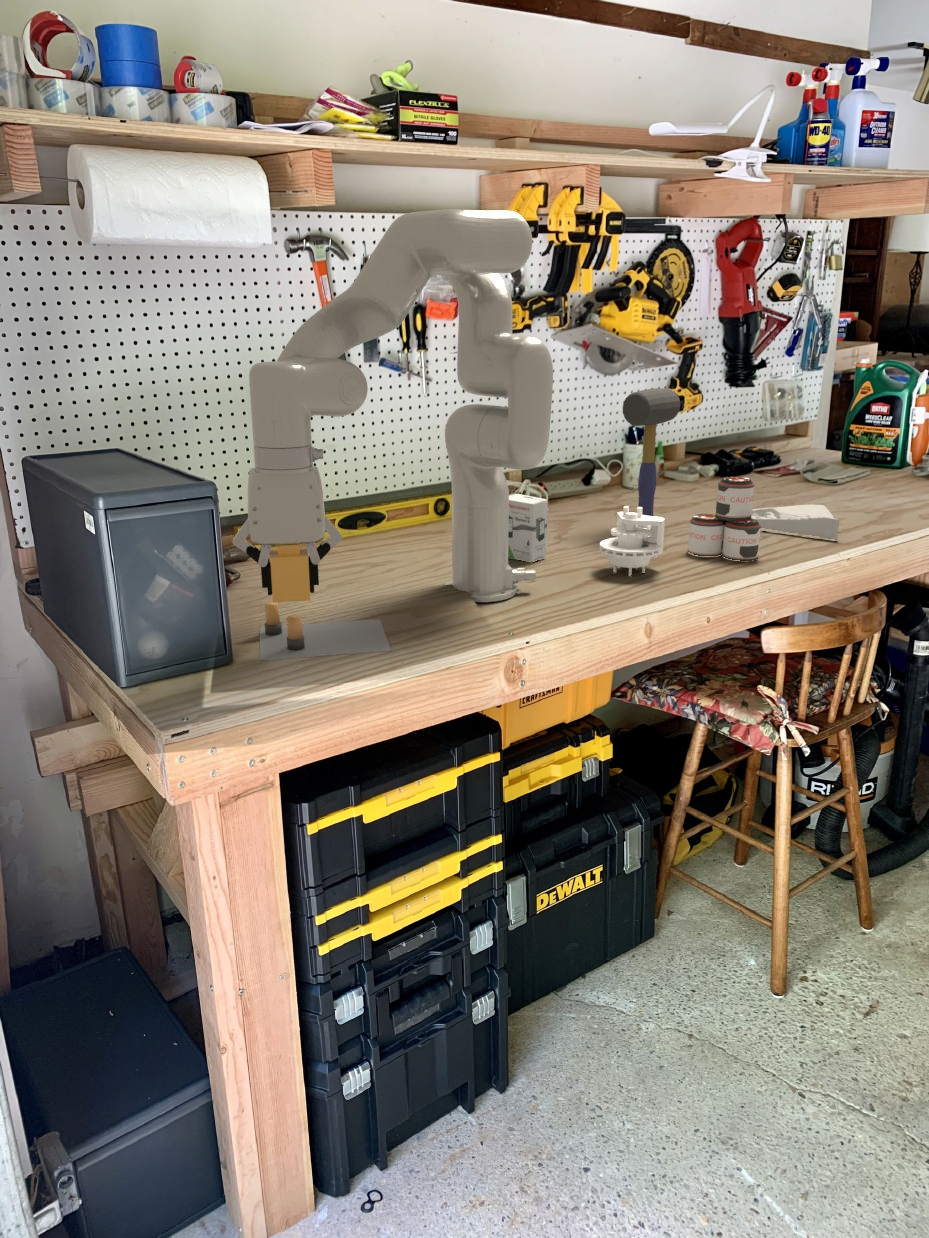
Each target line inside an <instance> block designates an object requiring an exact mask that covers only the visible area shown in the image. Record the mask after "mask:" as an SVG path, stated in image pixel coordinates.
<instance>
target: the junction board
mask: <svg viewBox="0 0 929 1238" xmlns="http://www.w3.org/2000/svg"><path fill="white" fill-rule="evenodd" d="M279 603H280V602H275V603H273V601H267V602H265V603H264V613H265V615H264V616H265V622H264V626H261V627H259V661H274V660H275V661H276V660H287V659H301V658H303V659H304V658H314V657H330V656H340V655H341V656H342V655H354V654H357V655H358V654H366V653H369V654H370V653H380V652H392V651H393V650H392V648H391V646H390V643H389V640H388V637H387V635H386V634H387V633H386V632H385V629H384V627H383V623H382V621H381V619H380V618H379V619H375V618H374V619H362V620H360V619H359V620H347V621H332V622H317V623H303V622H302V620H303V619H302V616H301V615H299V614H291V615H288V616H287V617H286V625H282V622H281V619H280V605H279Z"/></svg>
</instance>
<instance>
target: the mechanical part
mask: <svg viewBox="0 0 929 1238" xmlns="http://www.w3.org/2000/svg"><path fill="white" fill-rule="evenodd" d="M642 509H643V507H638V506H637V507H636V512H632V511H630V506H629V505H625V506H623V509H622V511H619V512H616V527H612V528H611V529H610V534H611V535H612V536H613V537H610V538H606V539H603V540H601V541H600V542H599V552H601V553H602V554H604V555H606V556H608V563H609V564H610V565H612V566H613V568H612V569H613V571H612V573H613V572H616V573H617V567H620V568H628V576H629V575H630V576H631V575H633V573H632V572H633V569H635V568H639V569H640V568H641V574H642V573H645V574H646V567H647V566H649V564H650V562H651V561H650V560H653V559H657V557H658V556H660V555H663V552H664V541H665V523H666V519H665V518H664V517H662V516H656V515H655V516H654V515H653V516H647V515H642ZM629 511H630V512H629ZM631 577H632V576H631Z"/></svg>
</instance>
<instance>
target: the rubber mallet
mask: <svg viewBox="0 0 929 1238" xmlns="http://www.w3.org/2000/svg"><path fill="white" fill-rule="evenodd" d="M680 409H681V400H680V397H679V395H678V393H676V391H674V390H673V389H671V388H666V387H665V388H663V387H661V388H658V387H657V388H646V389H642V390H639V391H634V392H631V393H630V394H628V395H627V397H625V399H624V401H623V403H622V415H623V418H624V419H625V420H626V422H627V423H629V424H630V425H632V426H636V427H641V426H642V427H643V426H644V428H643V442H642V459H641V464H640V466H639V467H640V468H639V474H638V483H637V488H638V506H637V508H638V507H643V509H642V515H647V516H654V508H655V507H654V506H655V505H654V504H655V494H656V488H657V465H656V462H655V459H656V458H655V457H656V455H655V454H656V438H657V431H656V430H657V425H659V424H660V425H661V424H663V423H666V422H669V421H672V420H674V419H675V418H676V417H677V416H678V414H679V412H680Z"/></svg>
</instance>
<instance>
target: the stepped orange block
mask: <svg viewBox="0 0 929 1238" xmlns="http://www.w3.org/2000/svg"><path fill="white" fill-rule="evenodd" d="M308 557H309V553H308V550H307V548H306V546H305V547H301V544H290V545H276V548H271V550H270V554H269V559H270V563H271V579H272V595H271V596H272V602H273V603H275V602H278V603H289V602H290V603H291V602H309V601H311V592H310V582H309V562H308Z"/></svg>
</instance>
